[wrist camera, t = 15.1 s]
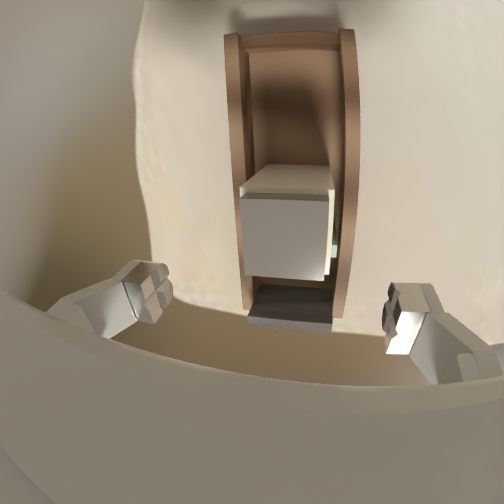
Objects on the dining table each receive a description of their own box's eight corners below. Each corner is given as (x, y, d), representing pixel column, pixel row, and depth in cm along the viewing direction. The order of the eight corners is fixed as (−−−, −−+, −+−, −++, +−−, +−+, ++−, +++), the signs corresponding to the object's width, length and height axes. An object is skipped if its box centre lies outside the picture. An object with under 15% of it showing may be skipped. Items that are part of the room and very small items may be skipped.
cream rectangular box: (267, 164, 21) (232, 193, 13) (330, 165, 20) (335, 196, 12) (269, 221, 23) (240, 279, 16) (327, 224, 22) (328, 286, 14)
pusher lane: (239, 47, 18) (213, 27, 13) (348, 44, 16) (357, 20, 10) (253, 285, 28) (237, 323, 23) (341, 292, 26) (342, 333, 21)
